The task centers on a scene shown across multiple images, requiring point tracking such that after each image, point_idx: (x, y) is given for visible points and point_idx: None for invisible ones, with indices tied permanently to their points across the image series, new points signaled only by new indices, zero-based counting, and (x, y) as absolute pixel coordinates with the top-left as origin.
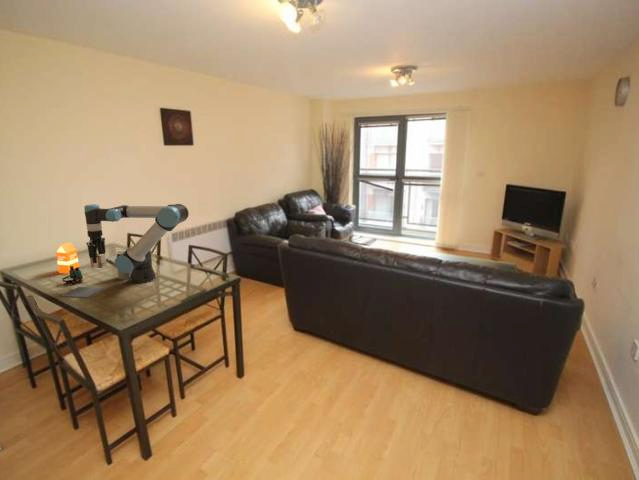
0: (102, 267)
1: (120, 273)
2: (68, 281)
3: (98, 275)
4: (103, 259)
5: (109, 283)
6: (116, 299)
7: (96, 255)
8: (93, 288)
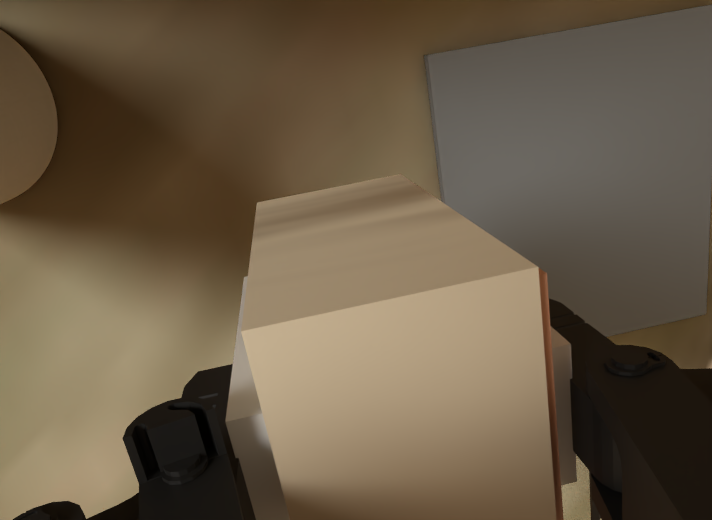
0: (393, 177)
1: (13, 111)
2: None
3: (72, 495)
4: (355, 237)
5: (243, 148)
6: None
7: (630, 402)
8: (475, 171)
